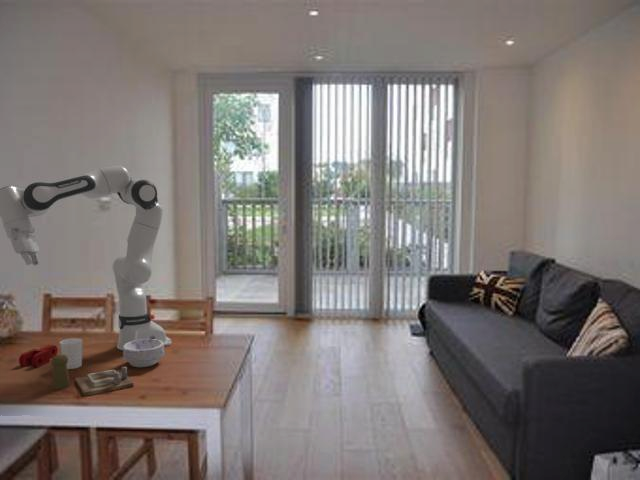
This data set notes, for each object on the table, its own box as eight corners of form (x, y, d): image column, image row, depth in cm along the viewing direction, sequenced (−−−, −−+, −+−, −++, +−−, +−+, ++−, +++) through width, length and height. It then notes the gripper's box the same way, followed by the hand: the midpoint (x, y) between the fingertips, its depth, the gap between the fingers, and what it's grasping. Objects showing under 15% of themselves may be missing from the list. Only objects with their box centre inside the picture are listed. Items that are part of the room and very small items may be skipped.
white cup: (88, 364, 217) (86, 339, 215) (72, 370, 209) (71, 345, 208) (71, 362, 219) (70, 337, 218) (56, 368, 212) (55, 342, 211)
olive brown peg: (55, 383, 196) (53, 353, 195) (73, 382, 197) (71, 352, 196) (48, 389, 190) (47, 358, 189) (66, 389, 191) (65, 358, 190)
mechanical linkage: (35, 369, 212) (35, 356, 211) (19, 367, 213) (18, 355, 212) (63, 356, 227) (62, 344, 227) (47, 355, 229) (46, 343, 228)
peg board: (121, 372, 207) (121, 359, 206) (133, 386, 194) (133, 371, 193) (75, 381, 198) (74, 367, 198) (84, 396, 185) (83, 381, 184)
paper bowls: (126, 372, 207) (126, 352, 206) (120, 361, 221) (120, 341, 220) (168, 366, 214) (167, 346, 213) (160, 355, 228) (159, 336, 227)
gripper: (19, 224, 195) (34, 261, 195) (35, 228, 215) (48, 262, 215) (1, 230, 193) (15, 267, 194) (18, 234, 213) (31, 268, 214)
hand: (33, 264), depth 205 cm, fingers open, 8 cm apart
